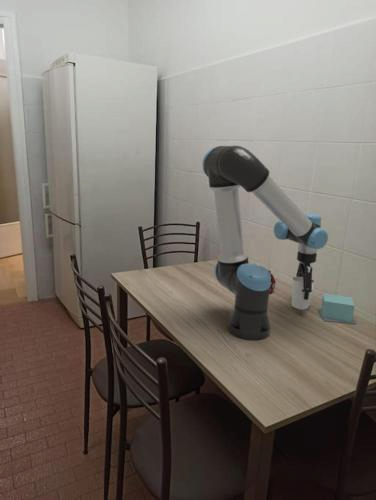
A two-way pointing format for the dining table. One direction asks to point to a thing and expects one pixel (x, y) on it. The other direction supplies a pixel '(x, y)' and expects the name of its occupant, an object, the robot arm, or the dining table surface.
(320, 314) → the base mat
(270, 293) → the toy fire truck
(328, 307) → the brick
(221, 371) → the dining table surface
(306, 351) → the dining table surface
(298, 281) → the cup
